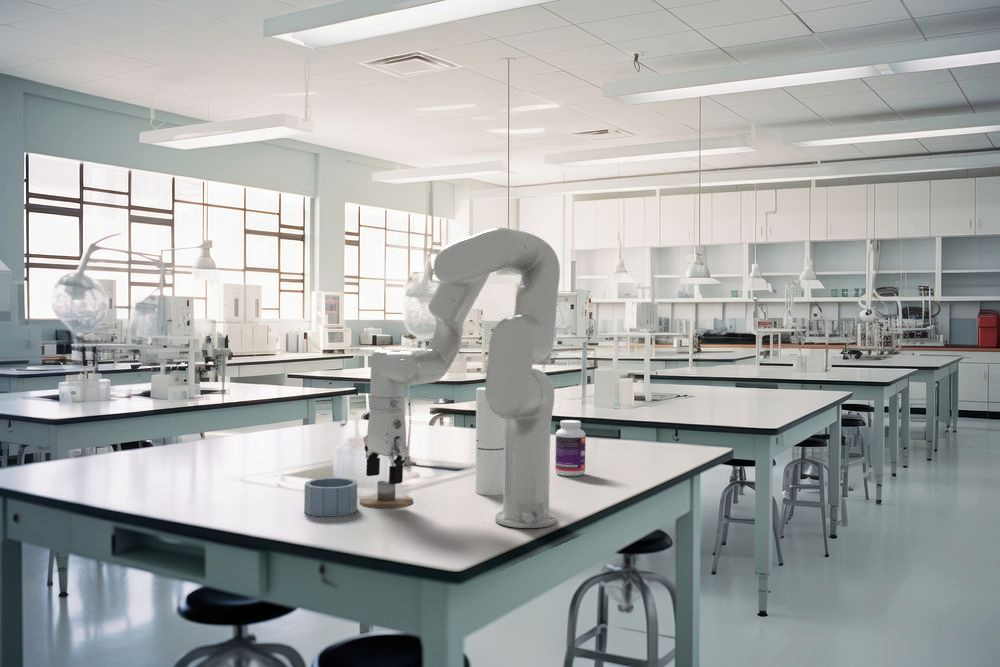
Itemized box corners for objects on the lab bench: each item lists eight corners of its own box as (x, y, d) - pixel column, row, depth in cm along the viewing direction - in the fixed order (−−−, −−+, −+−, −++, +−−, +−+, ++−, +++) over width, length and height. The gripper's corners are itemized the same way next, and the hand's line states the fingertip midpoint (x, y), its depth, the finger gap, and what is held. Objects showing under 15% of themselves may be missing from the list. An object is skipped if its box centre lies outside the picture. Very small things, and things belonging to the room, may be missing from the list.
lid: (413, 508, 181) (414, 486, 181) (358, 509, 179) (358, 487, 179) (411, 497, 193) (412, 477, 193) (360, 498, 191) (360, 477, 191)
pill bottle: (586, 477, 218) (587, 423, 217) (556, 477, 218) (557, 423, 217) (583, 471, 226) (584, 419, 225) (554, 471, 226) (554, 419, 225)
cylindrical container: (498, 488, 202) (499, 387, 202) (509, 494, 196) (510, 389, 195) (471, 490, 200) (472, 387, 199) (481, 496, 193) (482, 390, 193)
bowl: (356, 516, 172) (357, 487, 172) (303, 517, 171) (303, 488, 170) (357, 504, 183) (357, 477, 183) (306, 505, 181) (306, 478, 181)
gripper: (421, 407, 181) (419, 484, 182) (380, 399, 194) (378, 471, 195) (392, 409, 176) (390, 488, 177) (352, 400, 190) (350, 474, 190)
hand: (384, 479), depth 186 cm, fingers open, 9 cm apart
